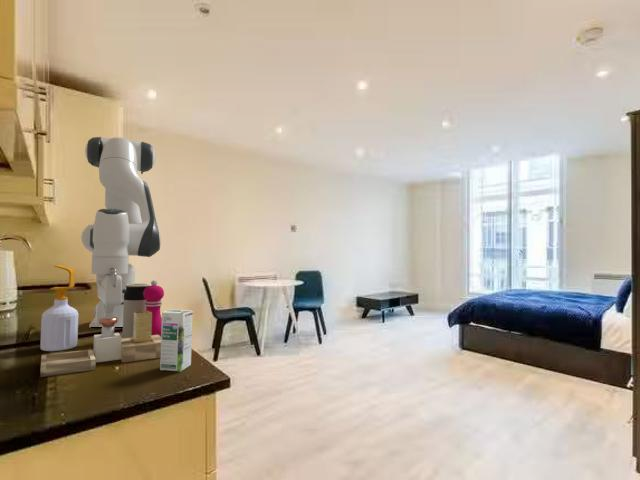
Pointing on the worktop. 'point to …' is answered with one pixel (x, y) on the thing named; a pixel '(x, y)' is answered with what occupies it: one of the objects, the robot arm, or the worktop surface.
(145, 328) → the block
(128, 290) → the travel mug
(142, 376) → the worktop surface
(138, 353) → the socket
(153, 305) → the pepper mill
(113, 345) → the pin guide
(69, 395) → the worktop surface
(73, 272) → the soap bottle
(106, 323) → the pin
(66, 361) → the shallow wooden tray
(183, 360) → the syrup box
